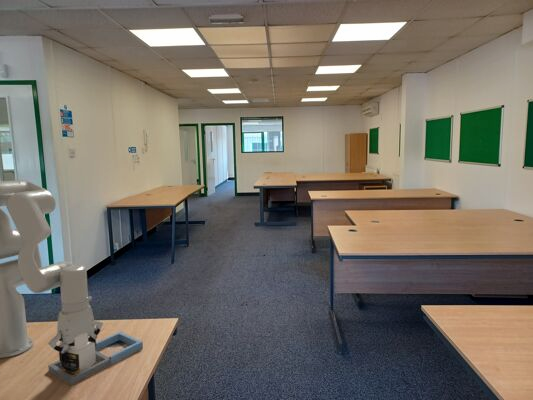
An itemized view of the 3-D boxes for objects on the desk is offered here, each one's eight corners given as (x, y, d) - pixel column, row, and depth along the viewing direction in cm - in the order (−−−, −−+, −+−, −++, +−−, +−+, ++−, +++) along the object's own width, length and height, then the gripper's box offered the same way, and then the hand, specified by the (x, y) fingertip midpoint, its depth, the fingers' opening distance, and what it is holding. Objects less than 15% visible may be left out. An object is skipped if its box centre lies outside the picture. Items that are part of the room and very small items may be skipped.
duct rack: (48, 371, 116) (48, 363, 116) (120, 337, 137) (120, 331, 137) (70, 385, 109) (69, 377, 108) (142, 348, 129) (142, 341, 129)
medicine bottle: (61, 370, 116) (59, 335, 114) (79, 358, 122) (77, 325, 121) (79, 374, 114) (77, 338, 112) (96, 362, 120) (94, 328, 119)
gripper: (94, 293, 125) (97, 341, 127) (40, 311, 110) (44, 365, 113) (107, 298, 120) (110, 348, 122) (52, 318, 106) (56, 373, 108)
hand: (78, 356), depth 118 cm, fingers closed on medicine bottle, 8 cm apart
